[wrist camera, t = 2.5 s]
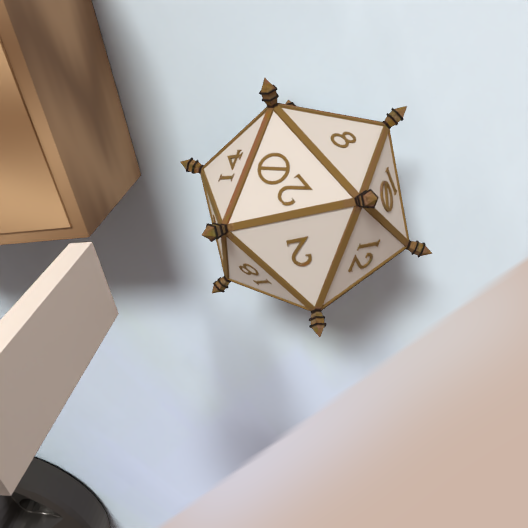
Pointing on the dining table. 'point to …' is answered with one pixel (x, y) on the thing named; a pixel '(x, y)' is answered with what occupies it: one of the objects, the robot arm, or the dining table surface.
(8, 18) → the pedestal
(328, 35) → the dining table surface
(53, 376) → the robot arm
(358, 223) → the game die
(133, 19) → the dining table surface
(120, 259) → the dining table surface
